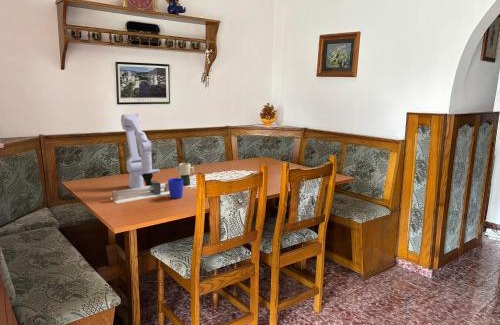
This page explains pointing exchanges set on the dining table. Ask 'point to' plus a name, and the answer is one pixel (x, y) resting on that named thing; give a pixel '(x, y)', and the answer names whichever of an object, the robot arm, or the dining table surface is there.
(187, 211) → the dining table surface
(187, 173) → the character mug
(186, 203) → the dining table surface
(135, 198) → the linear rail slide
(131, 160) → the robot arm
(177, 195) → the mug
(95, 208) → the dining table surface
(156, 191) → the collar
